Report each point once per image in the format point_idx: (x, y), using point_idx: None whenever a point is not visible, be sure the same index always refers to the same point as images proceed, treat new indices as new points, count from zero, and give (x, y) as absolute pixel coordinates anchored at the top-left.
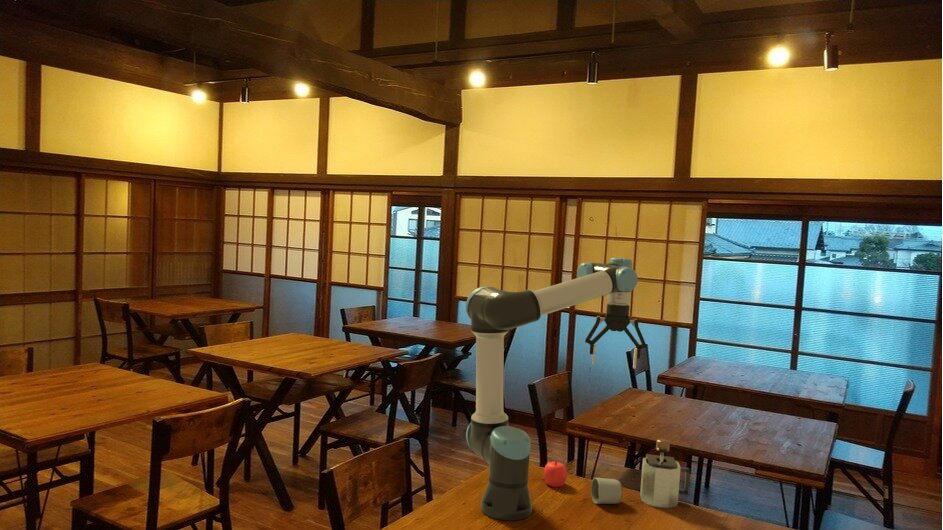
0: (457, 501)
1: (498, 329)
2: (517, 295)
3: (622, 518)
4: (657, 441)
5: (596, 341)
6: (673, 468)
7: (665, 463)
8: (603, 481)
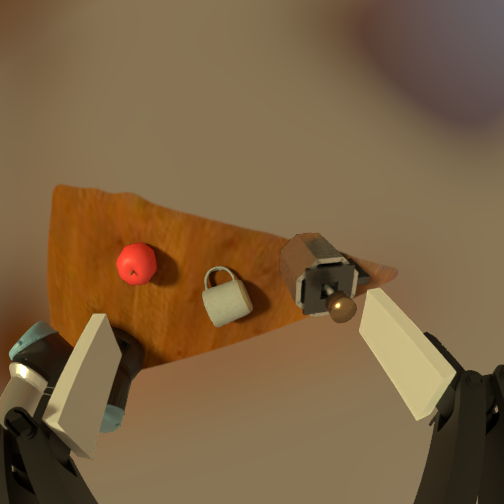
0: None
1: None
2: None
3: (250, 329)
4: (332, 317)
5: (87, 489)
6: None
7: None
8: (222, 321)
